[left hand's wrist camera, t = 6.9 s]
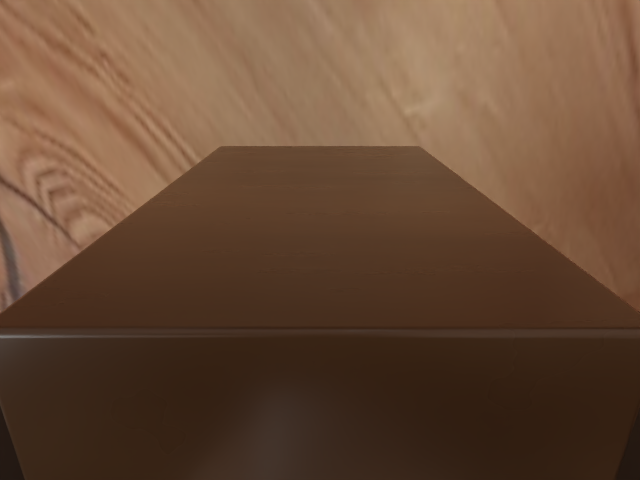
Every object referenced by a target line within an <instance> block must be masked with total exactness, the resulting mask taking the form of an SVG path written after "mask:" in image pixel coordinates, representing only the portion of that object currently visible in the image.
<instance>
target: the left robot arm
mask: <svg viewBox="0 0 640 480" xmlns="http://www.w3.org/2000/svg"><path fill="white" fill-rule="evenodd" d="M0 480H25V479H24V476H23V473H22V470H21V467H20V464H19V461H18V458H17V455H16V452H15V449H14V446H13V443H12V440H11V437H10V434H9V431H8V428H7V425H6V422H5V419H4V416H3V412H2V409H1V406H0ZM616 480H640V408H639V411H638V414H637V417H636V420H635V423H634V426H633V429H632V432H631V435H630V438H629V441H628V444H627V447H626V450H625V453H624V456H623V459H622V462H621V465H620V468H619V471H618V474H617V477H616Z"/></svg>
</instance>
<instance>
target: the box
mask: <svg viewBox="0 0 640 480" xmlns="http://www.w3.org/2000/svg"><path fill="white" fill-rule="evenodd" d="M0 406H1V409H2V412H3V416H4V419H5V422H6V425H7V428H8V431H9V434H10V437H11V440H12V443H13V446H14V449H15V452H16V455H17V458H18V461H19V464H20V467H21V470H22V473H23V476H24V479H25V480H616V477H617V474H618V471H619V468H620V465H621V462H622V459H623V456H624V453H625V450H626V447H627V444H628V441H629V438H630V435H631V432H632V429H633V426H634V423H635V420H636V417H637V414H638V411H639V408H640V313H639V312H638V311H637V310H635V309H634V308H633V307H632V306H630V305H629V304H628V303H626V302H625V301H624V300H622V299H621V298H620V297H618V296H617V295H616V294H614V293H613V292H612V291H610V290H609V289H608V288H606V287H605V286H604V285H602V284H601V283H600V282H598V281H597V280H596V279H594V278H593V277H592V276H591V275H589V274H588V273H587V272H585V271H584V270H583V269H581V268H580V267H579V266H577V265H576V264H575V263H573V262H572V261H571V260H569V259H568V258H567V257H565V256H564V255H563V254H561V253H560V252H559V251H557V250H556V249H555V248H554V247H552V246H551V245H550V244H548V243H547V242H546V241H544V240H543V239H542V238H540V237H539V236H538V235H536V234H535V233H534V232H532V231H531V230H530V229H528V228H527V227H526V226H524V225H523V224H522V223H520V222H519V221H518V220H516V219H515V218H514V217H513V216H511V215H510V214H509V213H507V212H506V211H505V210H503V209H502V208H501V207H499V206H498V205H497V204H495V203H494V202H493V201H491V200H490V199H489V198H487V197H486V196H485V195H483V194H482V193H481V192H479V191H478V190H477V189H475V188H474V187H473V186H472V185H470V184H469V183H468V182H466V181H465V180H464V179H462V178H461V177H460V176H458V175H457V174H456V173H454V172H453V171H452V170H450V169H449V168H448V167H446V166H445V165H444V164H442V163H441V162H440V161H438V160H437V159H436V158H434V157H433V156H432V155H431V154H429V153H428V152H427V151H425V150H424V149H423V148H421V147H419V146H221V147H219V148H218V149H216V150H215V151H214V152H212V153H211V154H210V155H208V156H207V157H206V158H205V159H203V160H202V161H201V162H199V163H198V164H197V165H195V166H194V167H193V168H191V169H190V170H189V171H187V172H186V173H185V174H183V175H182V176H181V177H179V178H178V179H177V180H175V181H174V182H173V183H171V184H170V185H169V186H167V187H166V188H165V189H164V190H162V191H161V192H160V193H158V194H157V195H156V196H154V197H153V198H152V199H150V200H149V201H148V202H146V203H145V204H144V205H142V206H141V207H140V208H138V209H137V210H136V211H134V212H133V213H132V214H130V215H129V216H128V217H126V218H125V219H124V220H122V221H121V222H120V223H119V224H117V225H116V226H115V227H113V228H112V229H111V230H109V231H108V232H107V233H105V234H104V235H103V236H101V237H100V238H99V239H97V240H96V241H95V242H93V243H92V244H91V245H89V246H88V247H87V248H85V249H84V250H83V251H81V252H80V253H79V254H78V255H76V256H75V257H74V258H72V259H71V260H70V261H68V262H67V263H66V264H64V265H63V266H62V267H60V268H59V269H58V270H56V271H55V272H54V273H52V274H51V275H50V276H48V277H47V278H46V279H44V280H43V281H42V282H40V283H39V284H38V285H36V286H35V287H34V288H33V289H31V290H30V291H29V292H27V293H26V294H25V295H23V296H22V297H21V298H19V299H18V300H17V301H15V302H14V303H13V304H11V305H10V306H9V307H7V308H6V309H5V310H3V311H2V312H1V313H0Z"/></svg>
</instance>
